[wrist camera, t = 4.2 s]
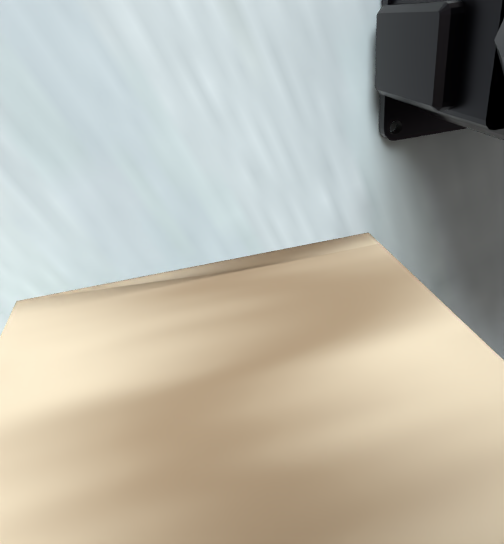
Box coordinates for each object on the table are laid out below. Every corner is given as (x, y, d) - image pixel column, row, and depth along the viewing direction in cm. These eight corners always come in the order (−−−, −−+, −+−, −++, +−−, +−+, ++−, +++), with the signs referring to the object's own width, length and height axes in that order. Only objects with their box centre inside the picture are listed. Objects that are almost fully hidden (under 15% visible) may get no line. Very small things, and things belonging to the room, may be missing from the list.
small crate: (368, 232, 9) (689, 536, 4) (364, 456, 12) (529, 784, 7) (16, 301, 8) (-220, 817, 3) (113, 521, 11) (87, 947, 6)
